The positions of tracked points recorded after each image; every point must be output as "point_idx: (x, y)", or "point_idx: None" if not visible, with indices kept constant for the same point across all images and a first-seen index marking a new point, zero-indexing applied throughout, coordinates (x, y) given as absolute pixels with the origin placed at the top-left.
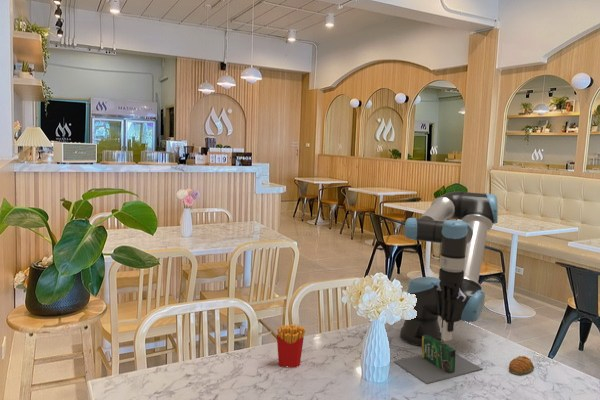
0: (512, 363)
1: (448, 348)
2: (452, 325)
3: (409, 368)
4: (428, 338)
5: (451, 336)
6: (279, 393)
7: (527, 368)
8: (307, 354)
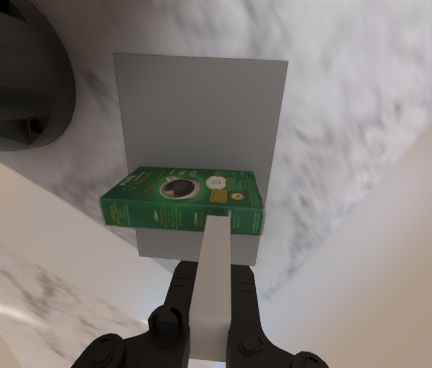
0: None
1: (241, 226)
2: (256, 314)
3: (184, 252)
4: (134, 224)
5: (229, 227)
6: None
7: None
8: (69, 346)
